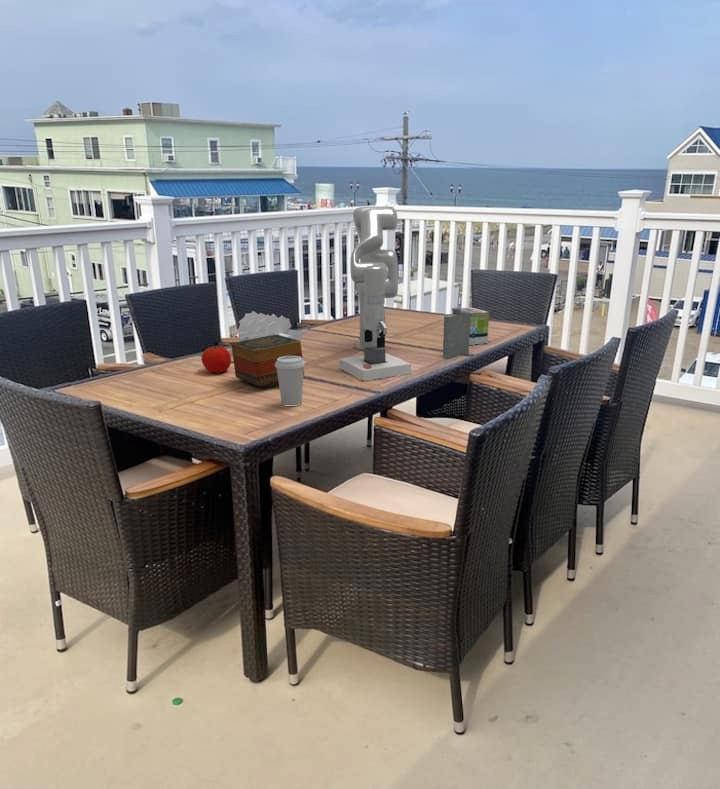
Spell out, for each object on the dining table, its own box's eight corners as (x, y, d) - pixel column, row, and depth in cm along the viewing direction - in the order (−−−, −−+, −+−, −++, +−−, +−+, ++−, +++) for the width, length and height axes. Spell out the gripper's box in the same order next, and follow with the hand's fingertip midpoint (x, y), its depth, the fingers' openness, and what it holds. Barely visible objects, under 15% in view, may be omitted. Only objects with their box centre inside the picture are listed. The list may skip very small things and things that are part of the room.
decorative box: (307, 386, 218) (308, 341, 214) (248, 391, 207) (248, 342, 203) (284, 376, 235) (285, 333, 231) (229, 379, 224) (229, 335, 221)
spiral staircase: (282, 370, 252) (242, 358, 266) (309, 345, 261) (269, 335, 276) (267, 334, 240) (226, 324, 255) (295, 309, 249) (255, 301, 264)
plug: (364, 368, 234) (364, 347, 232) (377, 366, 237) (377, 346, 234) (371, 371, 229) (371, 351, 226) (385, 369, 231) (385, 349, 229)
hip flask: (447, 359, 249) (449, 311, 243) (439, 357, 252) (440, 309, 246) (469, 352, 260) (472, 306, 254) (462, 351, 263) (463, 305, 257)
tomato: (229, 366, 243) (227, 341, 240) (234, 374, 232) (232, 348, 229) (200, 369, 239) (198, 343, 236) (204, 377, 228) (202, 350, 225)
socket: (340, 368, 237) (339, 356, 236) (384, 362, 246) (384, 350, 244) (363, 381, 220) (363, 368, 219) (410, 374, 229) (411, 361, 227)
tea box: (488, 343, 276) (490, 311, 271) (469, 345, 272) (470, 313, 268) (470, 337, 289) (472, 306, 285) (452, 339, 286) (453, 307, 281)
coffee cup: (307, 398, 202) (305, 354, 197) (305, 408, 192) (304, 362, 188) (278, 399, 201) (276, 355, 197) (275, 408, 192) (272, 362, 188)
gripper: (354, 296, 230) (355, 340, 236) (376, 304, 216) (376, 351, 222) (372, 295, 234) (372, 338, 239) (395, 302, 219) (394, 348, 225)
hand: (374, 344), depth 230 cm, fingers open, 9 cm apart
